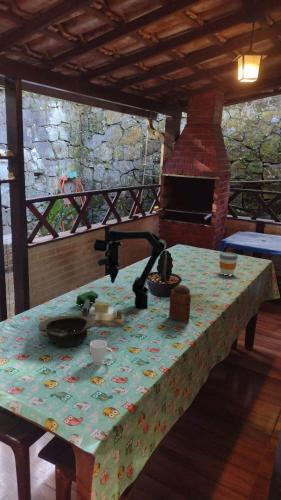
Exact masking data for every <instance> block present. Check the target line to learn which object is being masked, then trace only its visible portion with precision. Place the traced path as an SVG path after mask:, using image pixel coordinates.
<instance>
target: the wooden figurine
mask: <svg viewBox="0 0 281 500" xmlns="http://www.w3.org/2000/svg"><path fill="white" fill-rule="evenodd" d="M190 293H191V291H190V289H189V287H188V286H186V285H184V284H180V285H177V286H175V287H174V288H172V289H171V291H170V295H169V307H168V308H169V313H168V317H169V318H170V319H172V320H174V321H179V322H183V323H189V322H190V316H191V315H190V314H191V302H192V301H191V300H192V296H191V294H190Z"/></svg>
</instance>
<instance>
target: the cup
mask: <svg viewBox="0 0 281 500" xmlns="http://www.w3.org/2000/svg"><path fill="white" fill-rule="evenodd" d="M89 348H90V354H91V355H90V356H91V359H92V360H91V361H92V364H93V365H95V366H102V365H108V364H109V363H111V362H112V361H113V360H114V358H115V354H114V351H113V350H112V348H110V347H108V342H107V341H105V340H104V339H94V340H91V341H90V342H89ZM107 351H109V352H110V353H111V357H112V358H111V360H109V361H107V362H104V361H105V357H106V352H107Z"/></svg>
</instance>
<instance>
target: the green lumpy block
mask: <svg viewBox="0 0 281 500" xmlns="http://www.w3.org/2000/svg"><path fill="white" fill-rule="evenodd" d="M86 299H87V300H90V303H91V302H93V303H95V302H96V300H97V299H99V294H98V293H96V292H95V291H93V290H89V291H87V292H84V293H81V294H77V296H76V302H75V304H76V305H77V304H78V306H79V305H80V306H82V305H81V304H83V305H84V304H85V301H86ZM93 303H92V304H93Z"/></svg>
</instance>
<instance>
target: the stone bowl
mask: <svg viewBox="0 0 281 500" xmlns="http://www.w3.org/2000/svg"><path fill="white" fill-rule="evenodd" d="M95 322H96V321H95V320H93V319H91V318H89V317H86V316H82V315H80V314H79V315H78V314H71V315H69V314H68V315H59V316H54V317H48V318H47V319H45V320H44V321H41V322H39V324H38V331H41V332H43V333H45V334H46V336H47V337H48V339H49V341H51V342H52V343H53V344H54V343H55V344H56V347H57V348H60V349H62V348H71V347H77V346H78V345H80V344H81V341H84V340H86V339H87V337H88V330H89V329H92V328H94V326H97V325H96V324H97V323H95ZM72 330H75V331H72Z"/></svg>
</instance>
